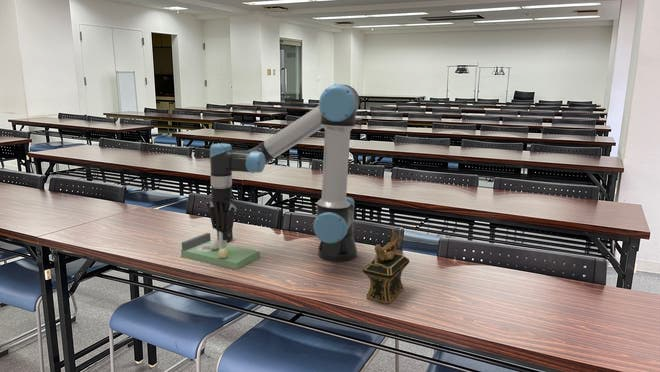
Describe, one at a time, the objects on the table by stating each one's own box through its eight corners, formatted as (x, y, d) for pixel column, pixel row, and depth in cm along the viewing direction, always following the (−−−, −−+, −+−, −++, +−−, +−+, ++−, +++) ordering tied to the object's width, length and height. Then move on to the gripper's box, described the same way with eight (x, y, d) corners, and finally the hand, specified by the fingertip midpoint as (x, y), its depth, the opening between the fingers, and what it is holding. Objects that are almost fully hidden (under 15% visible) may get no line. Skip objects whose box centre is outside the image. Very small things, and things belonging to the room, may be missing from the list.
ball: (219, 249, 178) (222, 242, 177) (213, 252, 175) (216, 245, 174) (212, 244, 179) (215, 237, 178) (206, 247, 176) (209, 239, 175)
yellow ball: (230, 257, 169) (230, 247, 169) (223, 260, 166) (223, 250, 165) (222, 255, 171) (222, 246, 170) (216, 258, 168) (215, 249, 167)
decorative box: (389, 308, 139) (393, 245, 135) (360, 300, 143) (363, 239, 139) (412, 284, 156) (416, 228, 152) (385, 278, 161) (388, 223, 156)
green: (259, 257, 177) (259, 243, 176) (236, 269, 165) (235, 254, 163) (206, 245, 188) (206, 232, 187) (181, 256, 176) (180, 242, 175)
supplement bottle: (226, 237, 199) (226, 211, 197) (235, 240, 196) (235, 214, 193) (215, 240, 195) (214, 214, 193) (224, 243, 191) (223, 216, 189)
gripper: (242, 186, 170) (243, 247, 175) (214, 182, 176) (215, 241, 181) (229, 190, 164) (230, 253, 169) (200, 185, 170) (202, 247, 175)
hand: (222, 247), depth 175 cm, fingers closed
